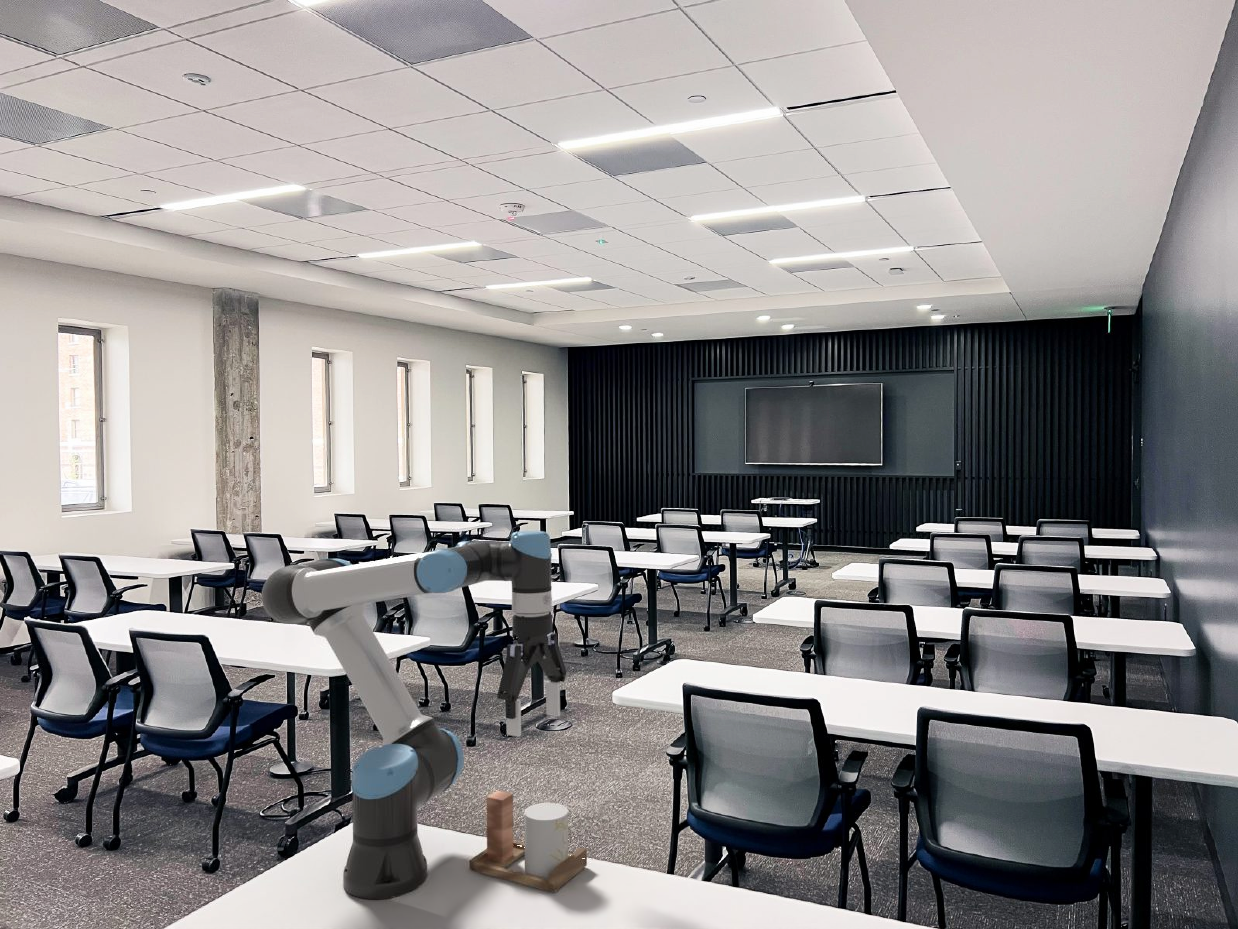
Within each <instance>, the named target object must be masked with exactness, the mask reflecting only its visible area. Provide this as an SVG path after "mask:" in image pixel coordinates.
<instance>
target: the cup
mask: <svg viewBox="0 0 1238 929" xmlns="http://www.w3.org/2000/svg"><path fill="white" fill-rule="evenodd" d="M523 814H524V817H523V818H524V821H523V822H524V829H523V830H524V843H525V854H524V874H528V875H531V876H535V877H539V878H543V879H547V880H548V873H549V872H550V871H552V870H553V869H554V868H556V867H557V866H558V865H559V864H561V863H562V862H563V861H565V860H566V859H567V858H568V854H569V810H568V807H566V806H565V805H564V804H560V803H558V802H557V803H556V802H539V803H535V804H531V805H529V806H527V807H526V808H525V810H524V812H523Z"/></svg>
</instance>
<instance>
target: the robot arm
mask: <svg viewBox="0 0 1238 929" xmlns="http://www.w3.org/2000/svg"><path fill="white" fill-rule="evenodd" d="M551 545H552V544H551V537H550V535H549V533H548V532H546V531H541V530H523V531H522V530H520V531H515V532H514V531H513V533H511V536H510V540H509V541H485V540H478V539H477V540H475V539H474V540H468V541H467V540H466V541H465V540H464V541H459V542H458V543H457V544H456V546H454V547H448V548H440V549H435V550H430V551H426V552H420V553H414V554H408V555H402V556H398V557H397V556H396V557H390V558H387V559H379V560H375V561H374V560H373V561H367V562H362V563H357V564H352V563H351V562H349V561H348V560H345V559H341V558H323V559H322V558H321V559H318V560H315V561H309V562H304V563H300V564H290V565H286V566H284V567H281V568H278V569H277V570H275V571H274V572H273V573H271V575H269V576H268V578H267V579H266V581H264V584H263V587H262V589H261V603H262V606H263V608H264V611H265V612H266V613H267V614H268V616H270V617H271V618H272V619H273V620H275V621H276V622H279V623H280V624H281V623H282V624H287V625H294V624H295V625H296V624H300V623H301V624H302V623H305V622H307V623H308V626H309V627H310V629H311V630H312V633H313V634H314V635H315V636H320V637H323V638H325V639H326V641H327V643H328V645H329V646H330V648H331V650H332V652H333V653H334V655H335V657H336V658H337V660H338V661H339V663H340V665H341V667H342V669H343V670H344V672H345V674H346V676H347V677H348V679H349V682H351V685H352V686H353V688H354V690H355V692H356V693H357V694H358V695H357V696H358V698H359V699H360V700H361V702H362V703H363V705H364V707H365V709H366V711H367V712H368V714H369V716H370V717H371V719H372V721H373V722H374V724H375V726H376V728H377V730H378V731H379V733H380V735H381V737H382V745H381V746H380V747H379V746H375V747H374V748H371V749H369V750H367V751H365V752H363V753H362V754H361V755H360V756H358V758H357V759H356V760H355V762H354V763H353V768H352V778H351V783H350V784H351V790H352V792H351V793H352V798H351V799H352V843H351V846H350V850H349V854H348V856H347V859H346V864H345V866H344V869H343V871H342V872H343V874H342V876H343V880H342V881H343V882H342V886H343V889H344V890H345V892H347V893H348V894H350V895H351V896H354V897H357V898H361V899H366V900H367V899H369V900H381V899H382V900H383V899H390V898H394V897H396V898H397V897H398V896H403V895H406V894H409V893H411V892H412V891H414V890H415V891H416V890H417V889H419V887H421V886H422V885H423V884H424V883H425V882H426V881H427V879H428V860H427V858H426V856H425V854H424V852H423V847H422V845H421V841H420V838H419V834H418V833H419V831H418V823H419V822H418V810H419V808H420V807H422V806H424V805H425V804H426V803H428V802H429V801H432V800H433V799H434V798H435V797H438V795H441V794H443V793H444V792H445V791H447V790H448V789H450V787H451V786H452V785H453V784H455V783H456V782H457V780H458V779H459V777H460V776H461V774H462V772H463V766H464V763H465V755H464V754H465V753H464V750H463V746H462V743H461V741H460V739H459V738H458V737H457V735H455V733H453V732H452V731H450V730H446V728H441V727H440V728H439V726H438V725H437V723H436V721H435V720H434V718H433V717H432V716H428V715H424V714H422V713H421V711H420V709H419V708H418V707H417V705H416V702H415V701H414V700H413V698H412V696H411V695H410V692H409V690H408V689H407V687H406V686H405V683H403V682H404V681H402V678H401V677H400V675H399V673H398V672H397V670H396V669H395V667H394V665H393V663H392V662H391V659H390V658H389V657H388V655H387V653H386V652H385V650H384V648H383V646H382V644H381V643H380V641H379V640H378V638H377V635H375V633H374V631H373V629H372V627H371V625H370V624H369V622H368V621H367V619H366V618H365V615H364V614H365V610H366V607H367V605H366V604H371V603H372V604H373V603H377V602H383V601H390V600H395V599H397V600H398V599H403V598H408V597H414V596H420V595H426V594H445V593H451V592H453V591H455V590H458V589H461V588H464V587H468V586H471V585H475V584H478V583H482V582H487V581H490V582H491V581H494V582H495V581H496V582H497V581H498V582H499V581H501V582H510V583H511V611H512V612H513V613H514V614H513V615H512V634H513V635H514V636H516V637H517V644H510V643H509V644H507V646H506V658H505V662H504V666H503V671H502V675H501V678H500V684H499V686H498V691H497V696H496V697H497V699H498V700H503V701H504V703H505V718H506V720H505V721H506V725H505V726H506V735H507V736H511V737H521V736H522V710H521V709H522V702H521V699H519V696H520V694H521V691H522V688H523V687H524V686H523V685H524V683H525V681H526V678H527V674H528V672H529V670H530V669H532V667H533V665H535V664H536V663H538V664H539V666H540V668H541V669H542V671H543V672H544V674H545V675H546V677H547V679H548V680H547V681H546V682H545V700H546V701H545V706H546V707H545V708H546V710H545V714H546V716H551V717H560V716H561V697H560V696H561V682H562V683H565V682H566V681H565V680H566V676H567V670H566V666H565V662H564V658H563V656H562V653H561V650H560V647H559V644H558V641H559V640H558V633H557V632H553V615H552V613H551V611H552V609H553V606H552V605H553V604H552V603H553V602H552V601H553V597H552V587H553V586H552V558H553V553H552V547H551Z"/></svg>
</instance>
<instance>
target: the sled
mask: <svg viewBox="0 0 1238 929" xmlns="http://www.w3.org/2000/svg"><path fill="white" fill-rule="evenodd" d="M517 845H522V847H520V846H517ZM524 847H525V842H523V841H518V840H515V839H514V794H513V793H511V792H506V791H502V790H497V791H495V792H493V793H491V794H490V795H488V796H487V797H486V849H484V850H483V851H481V852H479V853H478V854H477V855H475V856H474V857H472V858H471V859H469V861H468V862H469V865H468V866H469V871H472V872H473V871H474V872H476V873H481V874H484V875H488V876H491V877H495V878H499V879H502V880H507V881H511V882H515V883H518V884H521V885H525V886H529V887H532V888H536V889H540V890H545V891H548V892H551V893H555V892H556V891H557V890H559V889H560V888H561V887H562V886H564V885H565V884H566V883H567V882H568V881H569V880H571V879H572V878H574V876H576V875H577V874H578V873H579V872H581V871H582V870H583V869H584V868H586V866H587V865H588V861H587V860H588V855H587V854H588V850H587V849H588V848H585V847H582V846H581V847H580V848H579V849H577V850H576V851H574V853H568V858H567V859H566V860H565V861H563V862H562V863H561V864H559V865H558V866H557V867H556V868H554V869H553V870H552V871H550V872H549V873H548V880H547V879H543V878H539V877H535V876H531V875H528V874H525V872H524V873H523V872H519V871H516V870H511V869H509V868H506V867H508V866H510V865H511V864H513V862H515V861H516V860H518V859H519V858H521V857H522V856H523V855H525V848H524ZM570 855H571V856H570ZM582 858H585V859H582Z"/></svg>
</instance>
